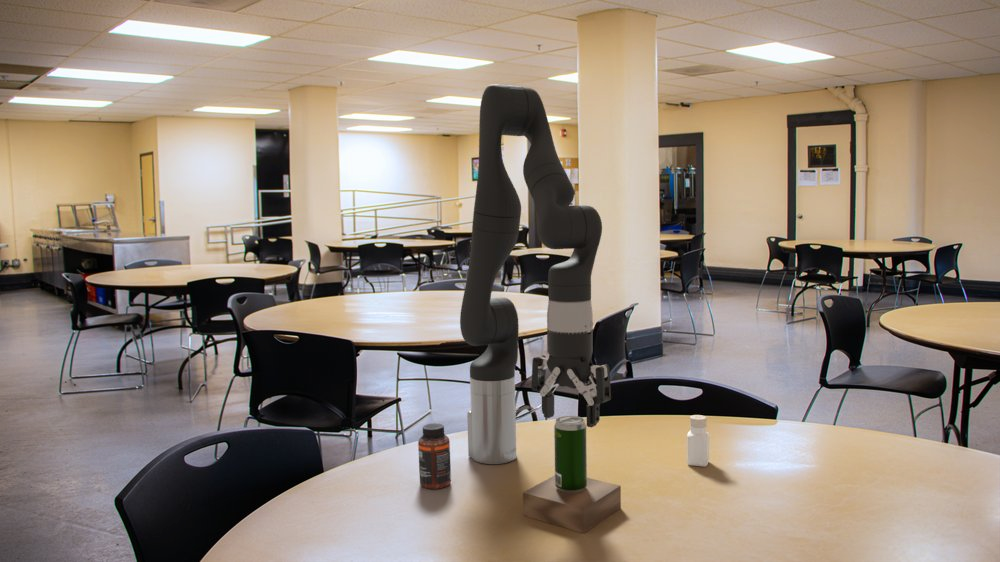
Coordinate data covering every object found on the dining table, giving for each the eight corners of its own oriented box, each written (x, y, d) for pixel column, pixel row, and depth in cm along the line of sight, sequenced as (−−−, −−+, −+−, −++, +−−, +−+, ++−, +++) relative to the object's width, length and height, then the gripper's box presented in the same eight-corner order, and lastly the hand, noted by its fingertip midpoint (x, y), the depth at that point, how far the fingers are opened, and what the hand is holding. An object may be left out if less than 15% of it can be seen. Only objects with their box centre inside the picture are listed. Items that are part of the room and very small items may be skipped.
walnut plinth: (523, 515, 127) (522, 492, 127) (562, 492, 137) (561, 471, 136) (584, 533, 120) (583, 509, 119) (620, 508, 129) (620, 485, 129)
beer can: (568, 497, 124) (567, 426, 123) (548, 487, 129) (547, 419, 127) (593, 489, 127) (592, 420, 126) (573, 480, 132) (572, 413, 130)
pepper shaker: (686, 465, 149) (686, 419, 148) (689, 459, 153) (689, 413, 152) (707, 468, 147) (707, 420, 146) (709, 461, 151) (709, 415, 150)
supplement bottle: (456, 481, 144) (455, 423, 142) (441, 492, 138) (439, 432, 137) (429, 476, 146) (427, 420, 145) (413, 487, 141) (411, 428, 140)
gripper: (521, 325, 126) (522, 419, 128) (595, 334, 117) (595, 435, 119) (547, 319, 132) (547, 409, 134) (618, 327, 123) (618, 423, 125)
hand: (570, 421), depth 127 cm, fingers open, 8 cm apart
